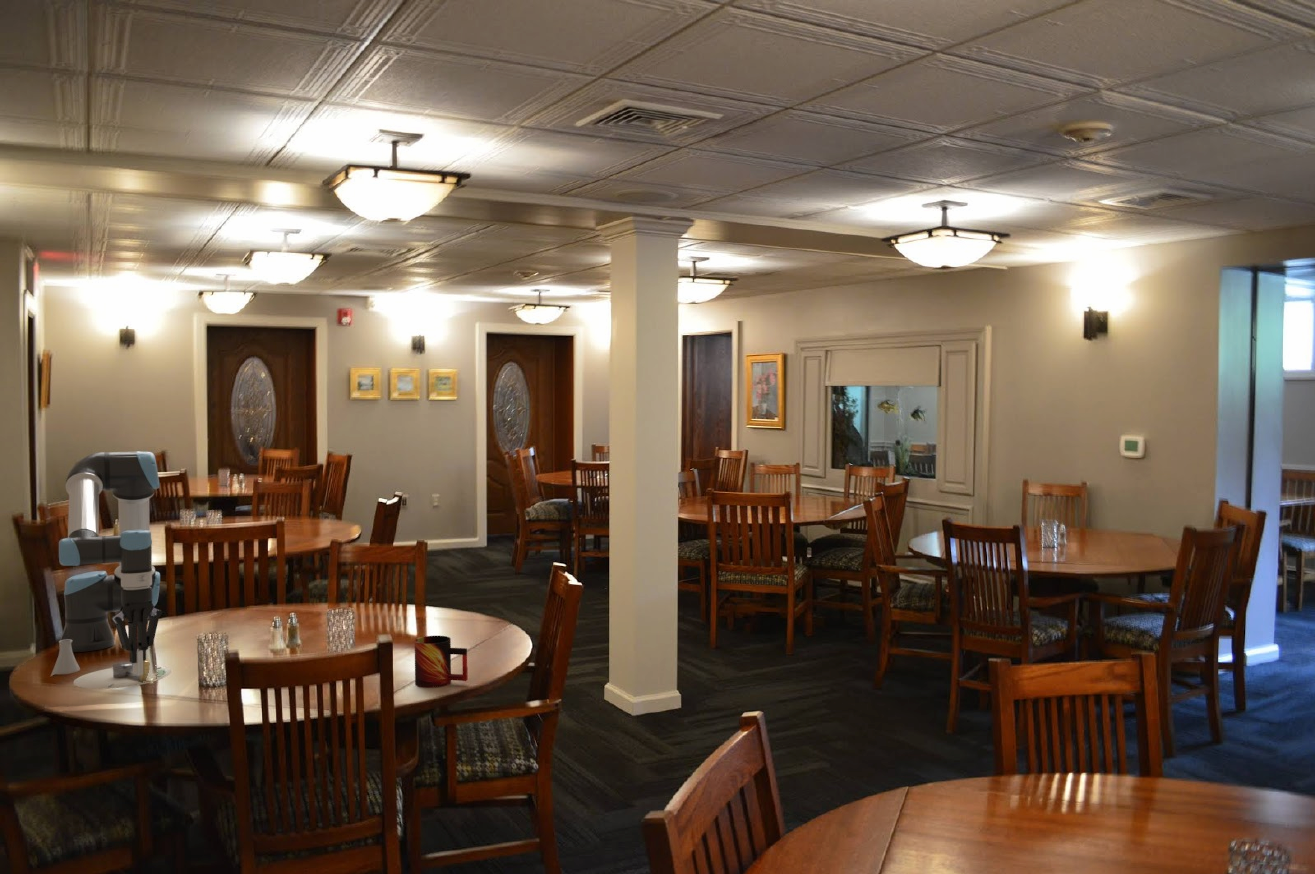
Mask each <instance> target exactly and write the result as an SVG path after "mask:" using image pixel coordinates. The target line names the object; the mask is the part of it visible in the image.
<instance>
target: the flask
mask: <svg viewBox="0 0 1315 874" xmlns="http://www.w3.org/2000/svg"><path fill="white" fill-rule="evenodd" d="M60 640H61V639H60ZM60 640H59V641H58V644H60V650H59V651H58V657H57V659H56V662H55V664H54V667H53V669H52V672H51V674H50V677H53V675H70V674H73V673H77V672H78V671H81V668H80V665H79V664H78V662H77V660H76V658H75V654H74V652H72V647H71V642H72V641H73V640H70V639H66V640H61V641H60Z"/></svg>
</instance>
